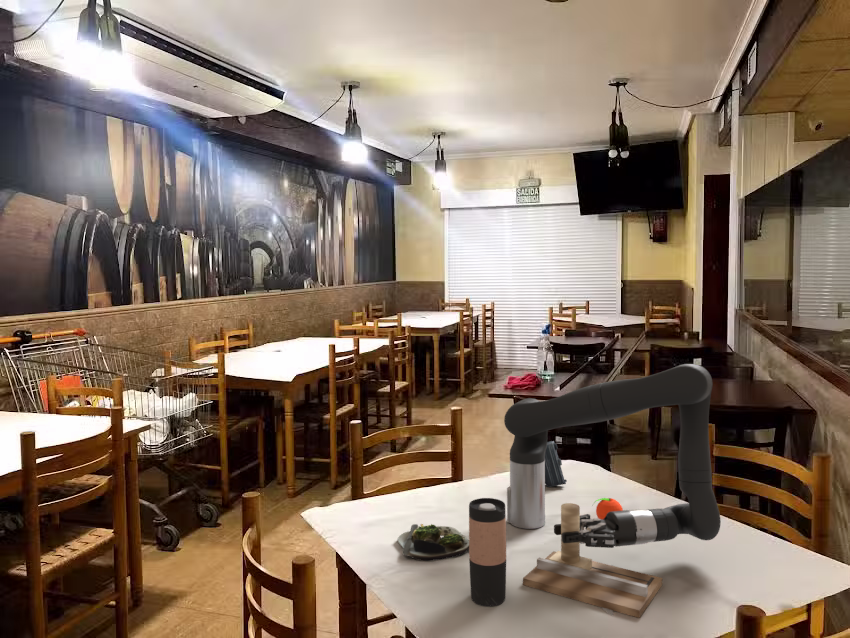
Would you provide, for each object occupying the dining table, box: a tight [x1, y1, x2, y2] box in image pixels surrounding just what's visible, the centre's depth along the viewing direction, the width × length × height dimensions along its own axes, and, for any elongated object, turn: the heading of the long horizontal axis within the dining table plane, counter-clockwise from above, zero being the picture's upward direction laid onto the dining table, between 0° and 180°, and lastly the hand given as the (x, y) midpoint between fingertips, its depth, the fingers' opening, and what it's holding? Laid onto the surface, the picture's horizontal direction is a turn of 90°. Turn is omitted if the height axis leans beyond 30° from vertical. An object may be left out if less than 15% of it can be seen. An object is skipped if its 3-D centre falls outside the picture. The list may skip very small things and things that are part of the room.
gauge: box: [549, 502, 593, 570], centre depth 146 cm, size 8×6×14 cm
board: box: [522, 550, 663, 619], centre depth 141 cm, size 25×16×4 cm, turn 55°
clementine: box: [591, 497, 623, 519], centre depth 174 cm, size 8×7×7 cm
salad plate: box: [397, 523, 469, 562], centre depth 164 cm, size 19×18×5 cm
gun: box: [545, 440, 567, 488], centre depth 207 cm, size 3×17×15 cm
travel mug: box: [468, 497, 507, 607], centre depth 136 cm, size 8×8×20 cm
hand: (558, 533), depth 145 cm, fingers closed on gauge, 4 cm apart
